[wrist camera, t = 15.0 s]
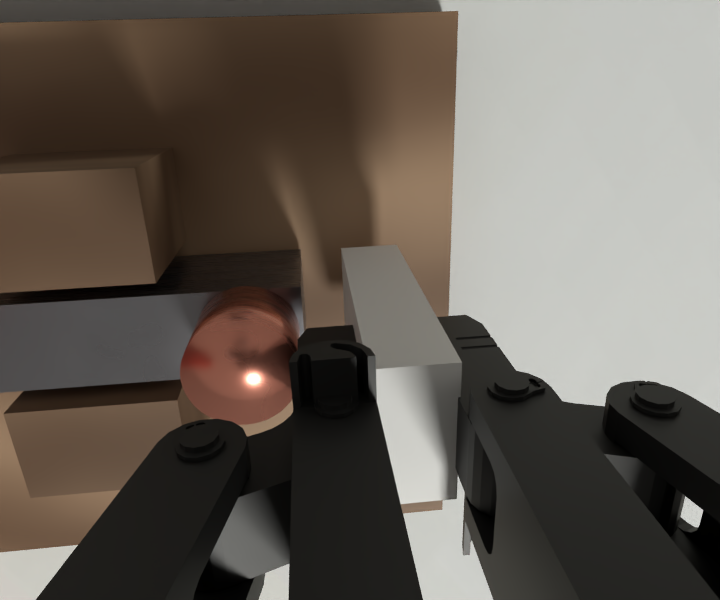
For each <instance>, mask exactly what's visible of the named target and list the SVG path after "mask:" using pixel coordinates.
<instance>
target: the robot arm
mask: <svg viewBox="0 0 720 600" xmlns="http://www.w3.org/2000/svg"><path fill="white" fill-rule="evenodd" d="M341 257H342V277H343V297H344V317H345V325H343V326H329V327H315V328H307V329H306V330H305V331H304V333H303V334H302V335H301V336H300V337H299V338H298V350H297V351H296V352H295V353H293V354H292V356H291V358H290V361H289V370H290V381H291V391H292V402H293V413H292V414H291V416H290V417H288V418H287V419H286V420H285V421H284V422H283V423H281V424H279V425H277V426H276V427H274V428H272V429H269V430H266V431H264V432H261V433H258V434H254V435H251V436H248V437H247V435H246V433H245V431H244V429H243V428H242V427H241V426H239V425H237V424H236V423H234V422H232V421H227V420H222V419H203V420H197V421H195V422H190V423H187V424H184V425H182V426H180V427H178V428H176V429H174V430H172V431H170V432H168V433H167V434H166V435H165V436H164V437H163V438H162V439H161V440H160V441H158V442H157V444H156V445H155V446H154V447H153V449H152V450H151V451H150V453H149V454H148V455H147V457H146V458H145V459H144V460H143V462H142V463H141V464H140V466H139V467H138V468H137V470H136V471H135V472H134V473H133V475H132V476H131V477H130V479H129V480H128V481H127V482H126V484H125V485H124V486H123V488H122V489H121V490H120V492H119V493H118V494H117V495H116V497H115V498H114V499H113V501H112V502H111V503H110V504H109V506H108V507H107V508H106V510H105V511H104V512H103V514H102V515H101V516H100V517H99V519H98V520H97V521H96V523H95V524H94V525H93V526H92V528H91V529H90V530H89V532H88V533H87V534H86V536H85V537H84V538H83V539H82V541H81V542H80V543H79V545H78V546H77V547H76V548H75V550H74V551H73V552H72V554H71V555H70V556H69V558H68V559H67V560H66V561H65V563H64V564H63V565H62V567H61V568H60V569H59V570H58V572H57V573H56V574H55V576H54V577H53V578H52V580H51V581H50V582H49V583H48V585H47V586H46V587H45V589H44V590H43V591H42V593H41V594H40V595H39V596H38V598H37V599H36V600H258V599H259V596H260V593H261V591H262V588H263V585H264V578H265V573H266V572H269V571H271V570H274V569H276V568H279V567H281V566H284V565H286V564H289V563H290V567H289V600H423V598H422V594H421V590H420V585H419V581H418V577H417V572H416V568H415V564H414V559H413V555H412V551H411V547H410V542H409V538H408V534H407V529H406V525H405V521H404V517H403V512H402V508H401V504H408V503H418V502H428V501H438V500H449V499H457V477H458V476H459V478H460V481H461V484H462V486H463V489H464V491H465V499H464V520H463V541H462V546H463V555H470V542H471V540H472V541H473V544H474V547H475V550H476V552H477V555H478V558H479V561H480V564H481V566H482V569H483V572H484V575H485V577H486V580H487V583H488V586H489V588H490V591H491V594H492V597H493V599H494V600H720V413H718V412H716V411H715V410H713V409H711V408H709V407H708V406H706V405H704V404H703V403H701V402H699V401H697V400H696V399H694V398H692V397H691V396H689V395H687V394H685V393H683V392H681V391H678V390H676V389H674V388H672V387H668V386H665V385H661V384H659V383H656V382H650V381H647V382H645V381H633V382H623V383H620V384H618V385H615V386H613V387H611V389H610V390H609V392H608V393H607V397H606V403H605V407H604V406H594V405H584V404H575V403H568V402H562V400H561V399H560V398H559V396H558V395H557V394H556V393H555V391H554V390H553V389H552V388H551V387H550V386H549V385H548V384H547V383H546V382H544V381H543V380H542V379H540V378H538V377H535V376H533V375H531V374H528V373H524V372H519V371H516V370H515V369H514V367H513V366H512V365H511V363H510V362H509V360H508V359H507V358H506V356H505V355H504V354H503V352H502V351H501V349H500V348H499V347H497V344H496V342H495V341H494V340H493V338H492V337H490V334H489V333H488V331H487V330H486V329H485V327H484V326H483V324H481V323H480V322H478V321H476V320H474V319H472V318H471V317H469V316H467V315H458V316H444V317H437V316H436V315H435V313H434V311H433V309H432V307H431V306H430V304H429V302H428V300H427V298H426V297H425V295H424V293H423V291H422V289H421V288H420V286H419V284H418V282H417V280H416V279H415V277H414V275H413V273H412V272H411V270H410V268H409V266H408V264H407V263H406V261H405V259H404V257H403V255H402V254H401V252H400V250H399V248H398V246H397V245H384V246H368V247H352V248H341ZM685 496H686V497H687V498H689V499H690V500H691V501H692V502H694V503H695V504H696V505H698V506H699V507H700V508H701V509H703V514H702V518H701V522H700V525H699V527H698V528H696V527H694V526H692V525H690V524H689V523H687V522H686V521H685V520H683V519H682V518H681V517H680V516H681V511H682V507H683V503H684V499H685Z"/></svg>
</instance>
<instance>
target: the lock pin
mask: <svg viewBox="0 0 720 600" xmlns="http://www.w3.org/2000/svg"><path fill="white" fill-rule="evenodd" d="M305 330H306V311H305V298H304V284H303V271H302V258H301V249H295V250H277V251H260V252H243V253H226V254H209V255H191V256H175V257H174V258H173V260H172V261H171V263H170V264H169V265H168V267H167V268H166V270H165V271H164V273H163V274H162V275H161V277H160V278H159V280H158V281H157V283H153V284H137V285H121V286H105V287H88V288H72V289H56V290H40V291H24V292H7V293H0V393H4V392H17V391H31V390H44V389H57V388H70V387H84V386H97V385H110V384H124V383H137V382H150V381H164V380H177V379H181V383H182V387H183V389H184V392H185V394H186V395H187V397H188V399H189V400H190V401H191V403H192V404H193V405H194V406H195V407H196V408H197V409H198V410H200V411H201V412H202V413H204V414H205V415H207V416H209V417H210V418H213V419H222V420H227V421H232V422H234V423H236V424H237V425H247V424H254V423H258V422H262V421H265V420H267V419H270V418H271V417H273V416H275V415H277V414H278V413H280V412H281V411H282V410H283V409H284V408H285V407H286V406H287V405H288V404H289V403H290V402H291V400H292V391H291V381H290V370H289V361H290V358H291V356H292V354H293V353H295V352H296V351H297V350H298V338H299V337H300V336H301V335H302V334H303V333H304V331H305Z"/></svg>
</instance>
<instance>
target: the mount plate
mask: <svg viewBox="0 0 720 600" xmlns="http://www.w3.org/2000/svg"><path fill="white" fill-rule="evenodd" d="M457 31H458V11H447V12H407V13H367V14H327V15H287V16H247V17H208V18H168V19H128V20H88V21H48V22H8V23H0V293H7V292H24V291H40V290H56V289H72V288H88V287H105V286H121V285H137V284H153V283H157V281H158V280H159V278H160V277H161V275H162V274H163V273H164V271H165V270H166V268H167V267H168V265H169V264H170V263H171V261H172V260H173V258H174V257H175V256H191V255H209V254H226V253H243V252H260V251H277V250H295V249H301V258H302V271H303V284H304V298H305V311H306V329H307V328H315V327H329V326H343V325H345V317H344V297H343V277H342V257H341V248H352V247H368V246H384V245H397V246H398V248H399V250H400V252H401V254H402V255H403V257H404V259H405V261H406V263H407V264H408V266H409V268H410V270H411V272H412V273H413V275H414V277H415V279H416V280H417V282H418V284H419V286H420V288H421V289H422V291H423V293H424V295H425V297H426V298H427V300H428V302H429V304H430V306H431V307H432V309H433V311H434V313H435V315H436V316H437V317H444V316H448V312H449V281H450V250H451V219H452V187H453V156H454V125H455V93H456V62H457ZM292 413H293V402H292V400H291V402H290V403H289V404H288V405H287V406H286V407H285V408H284V409H283V410H282V411H281V412H280V413H278V414H277V415H275V416H273V417H271V418H270V419H267V420H265V421H262V422H258V423H254V424H247V425H239V426H241V427H242V428H243V429H244V431H245V433H246V435H247V437H248V436H251V435H254V434H258V433H261V432H264V431H266V430H269V429H272V428H274V427H276V426H277V425H279V424H281V423H283V422H284V421H285V420H286V419H287V418H288V417H290V416H291V414H292ZM203 419H213V418H210V417H209V416H207V415H205V414H204V413H202V412H201V411H200V410H198V409H197V408H196V407H195V406H194V405H193V404H192V403H191V401H190V400H189V399H188V397H187V395H186V394H185V392H184V389H183V387H182V383H181V379H177V380H164V381H150V382H137V383H124V384H110V385H97V386H84V387H70V388H57V389H44V390H31V391H17V392H4V393H0V552H8V551H18V550H28V549H39V548H49V547H59V546H70V545H79V543H80V542H81V541H82V539H83V538H84V537H85V536H86V534H87V533H88V532H89V530H90V529H91V528H92V526H93V525H94V524H95V523H96V521H97V520H98V519H99V517H100V516H101V515H102V514H103V512H104V511H105V510H106V508H107V507H108V506H109V504H110V503H111V502H112V501H113V499H114V498H115V497H116V495H117V494H118V493H119V492H120V490H121V489H122V488H123V486H124V485H125V484H126V482H127V481H128V480H129V479H130V477H131V476H132V475H133V473H134V472H135V471H136V470H137V468H138V467H139V466H140V464H141V463H142V462H143V460H144V459H145V458H146V457H147V455H148V454H149V453H150V451H151V450H152V449H153V447H154V446H155V445H156V444H157V442H158V441H160V440H161V439H162V438H163V437H164V436H165V435H166V434H167V433H168V432H170V431H172V430H174V429H176V428H178V427H180V426H182V425H184V424H187V423H190V422H195V421H197V420H203ZM401 508H402V512H403V513H411V512H422V511H432V510H442V500H438V501H428V502H418V503H408V504H401Z"/></svg>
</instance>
